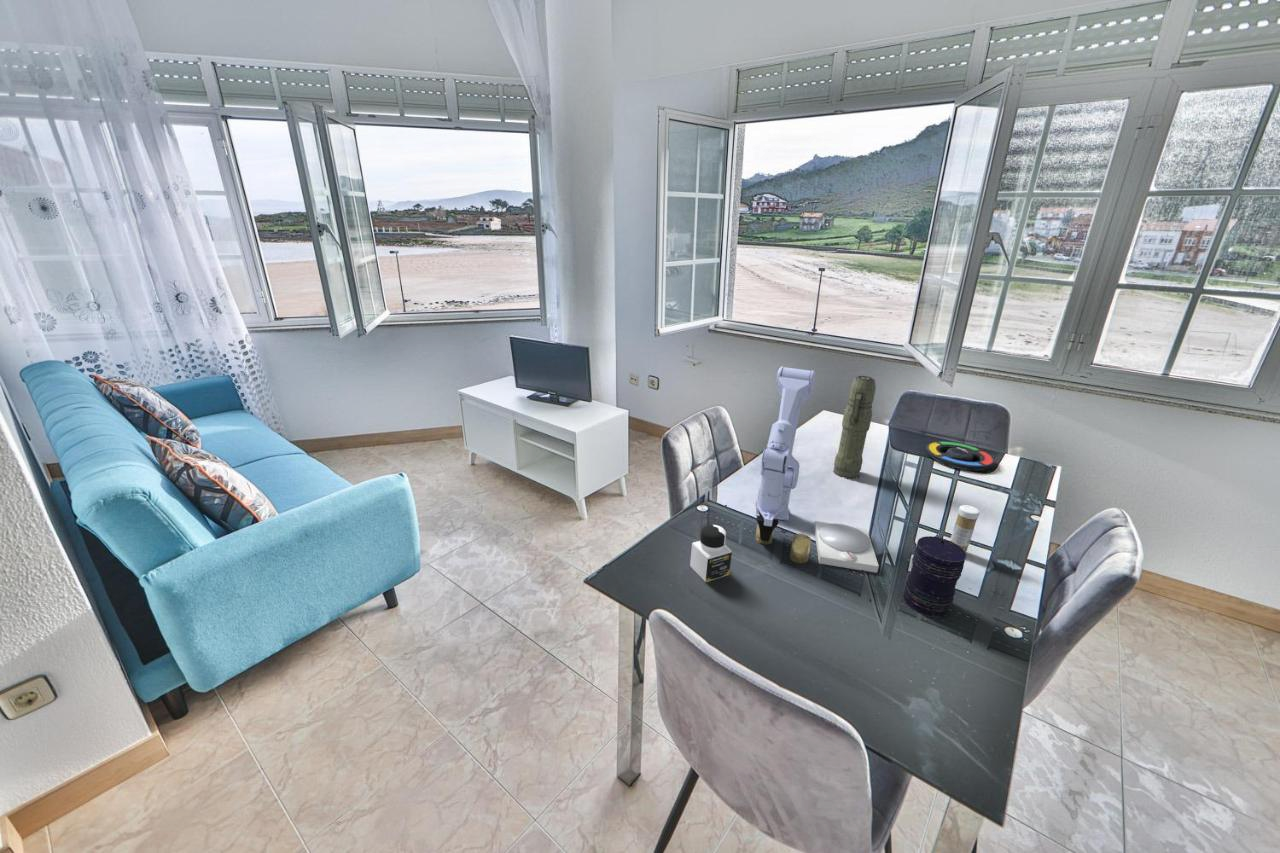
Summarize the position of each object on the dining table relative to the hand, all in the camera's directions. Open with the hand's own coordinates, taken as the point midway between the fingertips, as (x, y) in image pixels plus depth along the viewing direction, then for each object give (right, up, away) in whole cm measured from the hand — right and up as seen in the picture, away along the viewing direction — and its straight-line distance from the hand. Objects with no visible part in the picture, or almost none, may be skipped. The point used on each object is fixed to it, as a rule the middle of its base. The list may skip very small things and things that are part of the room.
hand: (764, 535), depth 143 cm
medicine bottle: (-17, -6, -13) cm, 22 cm away
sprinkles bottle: (+52, -5, -1) cm, 52 cm away
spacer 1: (0, -1, +1) cm, 1 cm away
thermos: (+39, +13, +42) cm, 59 cm away
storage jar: (+32, -11, -21) cm, 40 cm away
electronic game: (+88, +16, +57) cm, 106 cm away
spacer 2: (+7, -5, -7) cm, 11 cm away
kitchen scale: (+21, -3, -2) cm, 21 cm away
